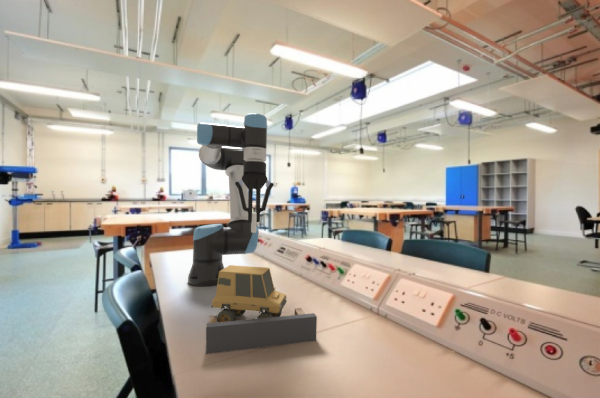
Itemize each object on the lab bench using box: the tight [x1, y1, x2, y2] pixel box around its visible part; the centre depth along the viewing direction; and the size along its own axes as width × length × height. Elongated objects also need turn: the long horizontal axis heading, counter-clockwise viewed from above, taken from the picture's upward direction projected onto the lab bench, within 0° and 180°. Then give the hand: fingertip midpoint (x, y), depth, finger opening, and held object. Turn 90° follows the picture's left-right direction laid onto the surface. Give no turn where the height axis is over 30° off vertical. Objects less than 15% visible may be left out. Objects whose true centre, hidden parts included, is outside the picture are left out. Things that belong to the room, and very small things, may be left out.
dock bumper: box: [205, 312, 318, 355], centre depth 67 cm, size 2×26×6 cm, turn 105°
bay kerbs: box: [208, 307, 306, 323], centre depth 74 cm, size 12×26×2 cm, turn 105°
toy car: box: [210, 264, 287, 322], centre depth 78 cm, size 10×19×15 cm, turn 80°
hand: (253, 232), depth 93 cm, fingers closed
